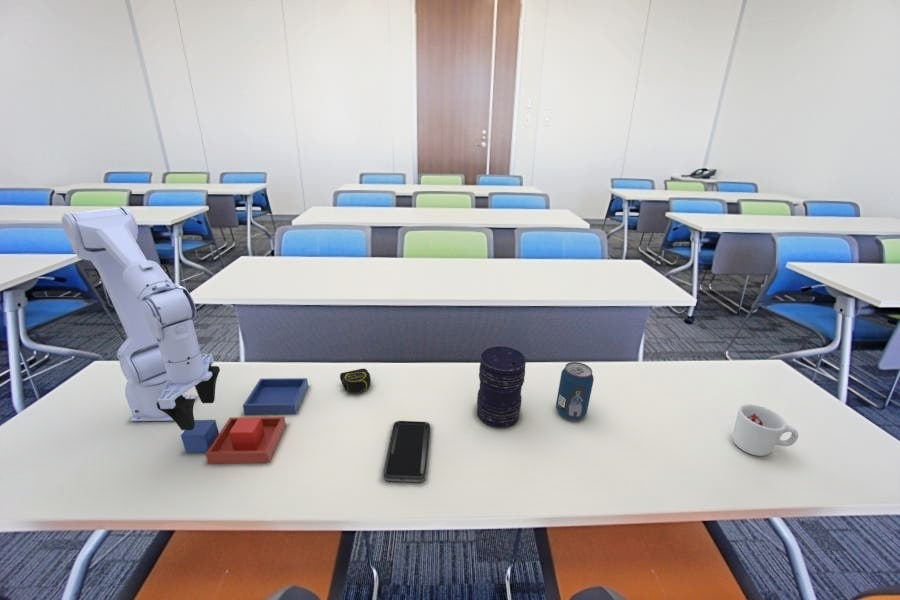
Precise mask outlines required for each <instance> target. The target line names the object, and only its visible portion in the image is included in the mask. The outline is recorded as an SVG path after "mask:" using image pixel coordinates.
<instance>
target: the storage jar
mask: <svg viewBox="0 0 900 600" xmlns="http://www.w3.org/2000/svg"><path fill="white" fill-rule="evenodd" d="M526 365H527V358H526V356H525V355H524V354H523V353H522V352H521V351H519V350H517V349H516V348H512V347H509V346H492V347H491V346H490V347H488V348H486V349H484V350H483V351H482V352H481V354H480V362H479V370H478V371H479V373H478V378H479V388H478V391H477V398H476V405H477V406H476V415H477V418H478V420H479V421H480V422H481V423H482V424H483V425H486V426H488V427H491V428H494V429H508V428H511V427H513V426H515V425H516V424H517V423H518V421H519V419H520V412H521V408H522V389H523V388H522V387H523V386H524V383H525V377H526Z"/></svg>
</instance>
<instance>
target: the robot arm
mask: <svg viewBox="0 0 900 600" xmlns="http://www.w3.org/2000/svg"><path fill="white" fill-rule="evenodd" d="M61 224H62V227H63V230H64V233H65V235H66V238H67V240H68V242H69V244H70V246H71V248H72V251H73V252H74V254H75V255H76V256H77V258H78V260H84V261H90V262H91V263H92V265H93V266H94V267H95V268H96V270H97V272H98V274H99V276H100V278H101V281H102V283H103V285H104V287H105V290H106V292H107V294H108V297H109V298H110V300H111V303H112V306H113V308H114V310H115V312H116V314H117V316H118V319H119V321H120V323H121V325H122V328H123V329H124V331H125V334H126V336H127V338H126V339H125V340H124V342H123V343H122V344H121V346H120V347H119V348H118V349H117V352H116V353H117V354H116V356H117V359H118V361H119V367H120V369H121V372H122V373H123V376H124V378H125V379H126V381H127V382H126V384H125V388H124V395H125V398H126V402H127V404H128V407H129V409H130V413H131V415H132V417H131V418H130V421H131V422H171V421H172V422H175V424H176V425H177V426H178V428H179V429H180V430H181V431H185V430H193V429H194V427H195V421H194V420H195V415H194V406H195V402H196V397H195V395H186V394H185V393H186V392H188V391H189V390H191V389H192V388H195V390H196V393H197V396H198V399H199V401H200V402H201V403H202V404H214V402H215V399H216V385H217V380H218V377H219V374H220V372H221V368H220V366H218V365H213V364H214V363H215V359H214V356H213V354H212V353H202V351H201V348H200V343H199V340H198V336H197V332H196V328H195V325H194V321H193V319H194V318H196V317H197V308H196V307H197V306H196V303H195V300H194V298H193V296H192V295H191V293H190V292H189V290H188V289H187V288H186V287H185V286H182V285H180V284H179V283H174V282H173V281H172V279H171V278H170V277H169V276H168V274H167V273H166V272H165V270H164V269H163V268H162V267H161V266H160V264H159V263H158V262H156V261H154V260H149V259H147V258H146V256H145V254H144V253H143V251H142V249H141V247H140V245H139V244H138V242H137V240H138V234H139V228H138V223H137V221H136V218H135V216H134V214H133V212H131V210H129V208H127V207H126V206H119V207H116V208H107V209H99V210H88V211H80V212H71V213H70V212H65V213H63V215H62V216H61ZM148 347H149V348H148ZM136 351H137V352H136Z"/></svg>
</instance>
